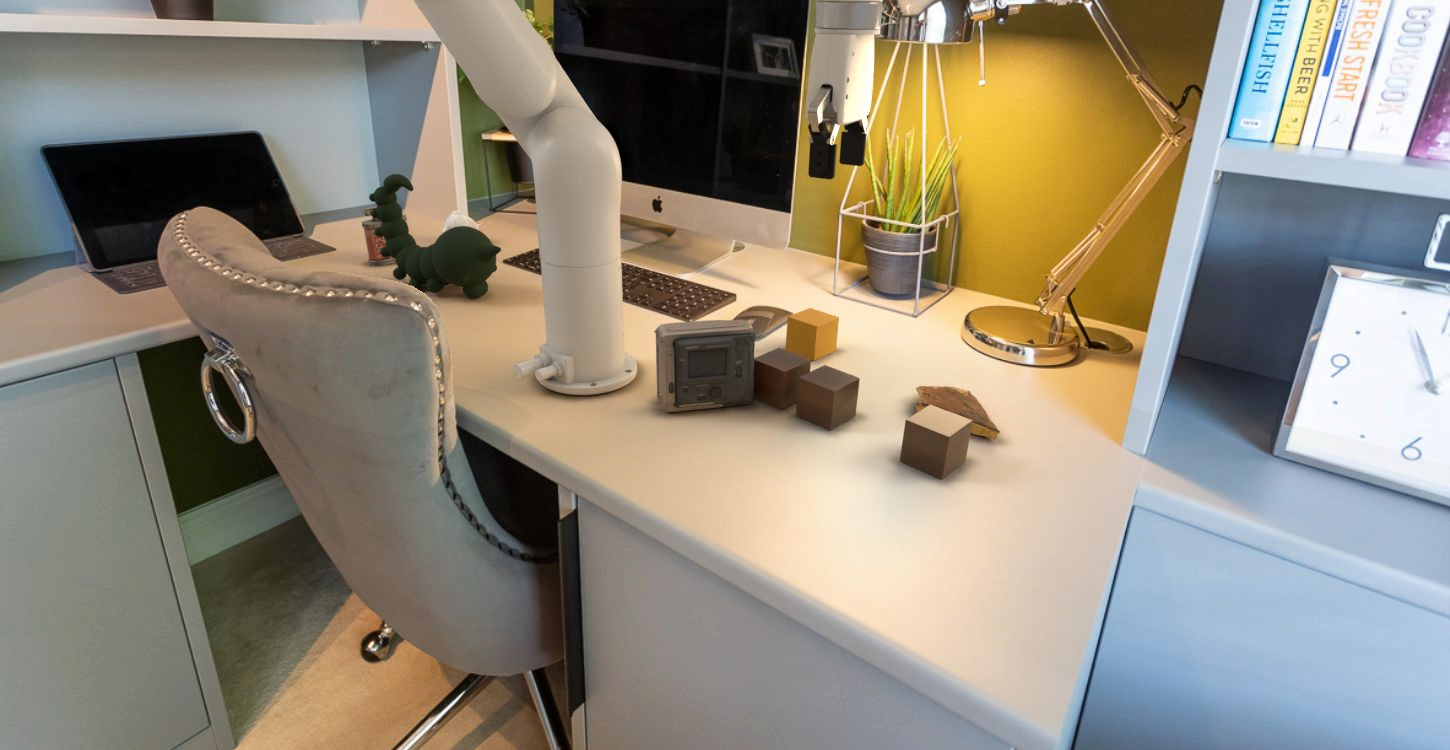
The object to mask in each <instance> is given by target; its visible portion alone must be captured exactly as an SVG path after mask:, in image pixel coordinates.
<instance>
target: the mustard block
mask: <svg viewBox="0 0 1450 750" xmlns="http://www.w3.org/2000/svg"><path fill="white" fill-rule="evenodd" d="M786 320H787V322H786V335H785V337H786V338H785V350H787V351H790V352H792V353H795V354H798V355H800V356H803V357H806V358H808V359H811V361H817V360H820V359H821V358H824V357H825V356H827V355H830V354H832V353H834V352H836V351H837V342H838V332H839V323H840V317H839V316H836V315H834V314H830V313H827V312H825V311H821V310H818V309H815V308H812V307H808V308H806V309H803V310H801V311H798V312H795V313H793V314H790V315H788V316H787V318H786Z"/></svg>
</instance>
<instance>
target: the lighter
mask: <svg viewBox="0 0 1450 750" xmlns="http://www.w3.org/2000/svg"><path fill="white" fill-rule="evenodd" d="M377 206H378V205H374V206H369V207H365V208H364V209H363V214H364V216H365V217H371V218H370V219H367V220H363V221H361V227H362V228H363V233H364V238H365V242H366V249H367V255H368V259H367V261H368V265H369V266H371V267H381V266H385V265H389V264H390V265H391V264H395V263H396V259H395V258H393V257H392V256H390V257H383V256H382V255H381V254H380V251H381V249H382V248H383V247H386V239H385V238H384V237H383V236H382V237H378V236H376V235H375V234H374V231H375V229H376V228H380V227H381V223H382V222H381V221H380V220H379V219H378V218H377V219H376V218H374V217H372V216H371V211H372V210H373V209H376V208H377ZM402 215H403V216H402V219H404V220H405V222H406V223H407V221H408V219H407V215H406V214H402Z"/></svg>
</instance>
